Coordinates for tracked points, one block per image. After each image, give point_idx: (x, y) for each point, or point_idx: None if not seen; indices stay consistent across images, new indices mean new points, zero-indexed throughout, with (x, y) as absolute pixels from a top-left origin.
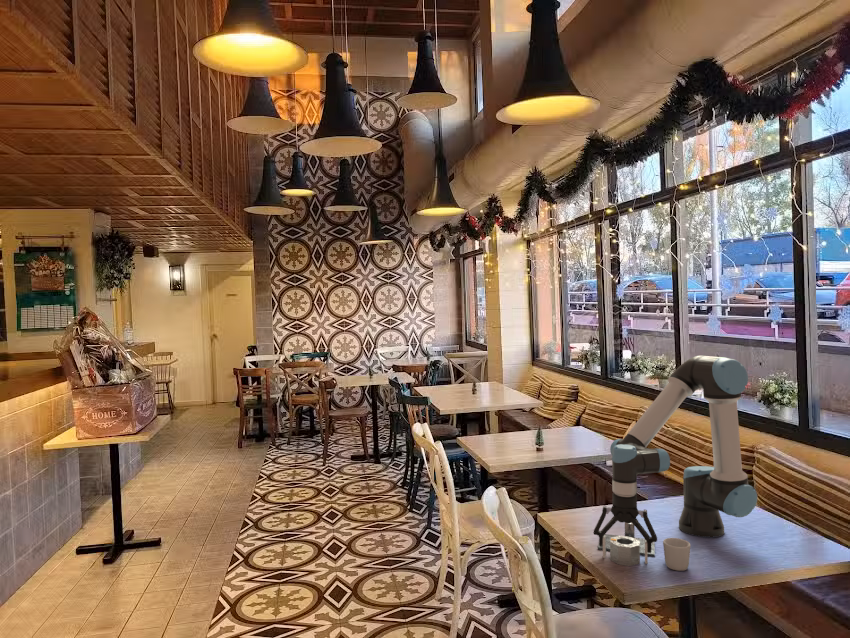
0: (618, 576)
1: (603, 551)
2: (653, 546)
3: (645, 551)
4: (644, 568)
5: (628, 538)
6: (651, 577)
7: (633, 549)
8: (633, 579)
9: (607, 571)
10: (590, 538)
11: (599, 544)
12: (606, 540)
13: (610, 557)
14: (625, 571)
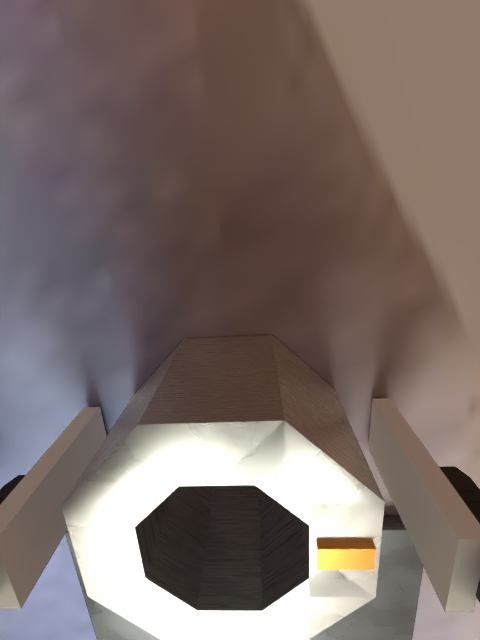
0: (249, 94)
1: (405, 429)
2: (97, 620)
3: (45, 469)
4: (89, 336)
5: (200, 618)
6: (5, 193)
7: (123, 432)
8: (121, 84)
9: (347, 166)
10: (461, 635)
11: (470, 481)
12: (370, 625)
13: (336, 397)
14: (207, 228)
